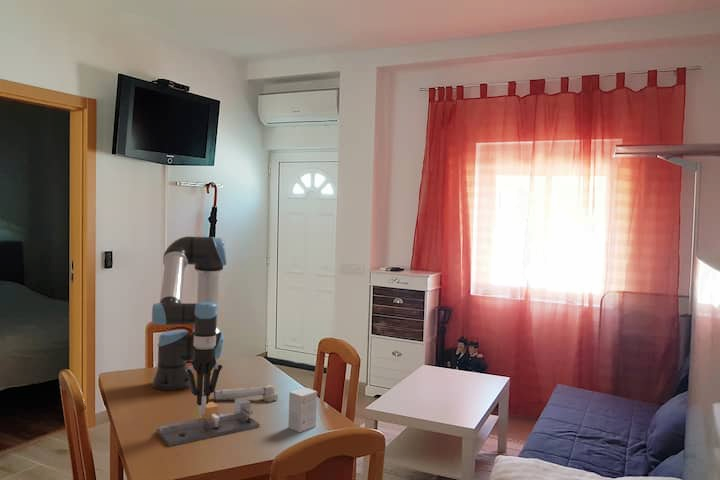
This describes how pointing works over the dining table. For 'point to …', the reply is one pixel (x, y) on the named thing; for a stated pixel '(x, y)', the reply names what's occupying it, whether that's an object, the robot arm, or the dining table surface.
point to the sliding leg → (212, 412)
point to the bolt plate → (209, 425)
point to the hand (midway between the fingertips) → (202, 413)
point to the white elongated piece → (247, 393)
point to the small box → (302, 409)
